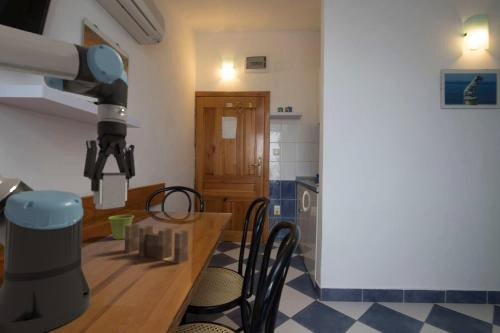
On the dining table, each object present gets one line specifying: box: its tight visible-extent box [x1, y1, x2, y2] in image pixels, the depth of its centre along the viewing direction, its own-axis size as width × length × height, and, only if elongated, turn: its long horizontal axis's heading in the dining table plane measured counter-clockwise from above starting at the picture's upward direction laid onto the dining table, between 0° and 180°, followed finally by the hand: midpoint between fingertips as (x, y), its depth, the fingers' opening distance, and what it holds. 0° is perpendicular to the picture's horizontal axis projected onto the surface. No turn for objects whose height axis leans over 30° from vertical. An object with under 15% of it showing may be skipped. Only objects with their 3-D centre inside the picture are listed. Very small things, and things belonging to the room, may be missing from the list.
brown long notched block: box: [124, 223, 189, 265], centre depth 82 cm, size 4×24×9 cm, turn 65°
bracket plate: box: [95, 172, 126, 210], centre depth 73 cm, size 7×3×10 cm, turn 155°
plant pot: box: [108, 214, 135, 240], centre depth 104 cm, size 9×9×9 cm
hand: (110, 201), depth 72 cm, fingers closed on bracket plate, 7 cm apart
